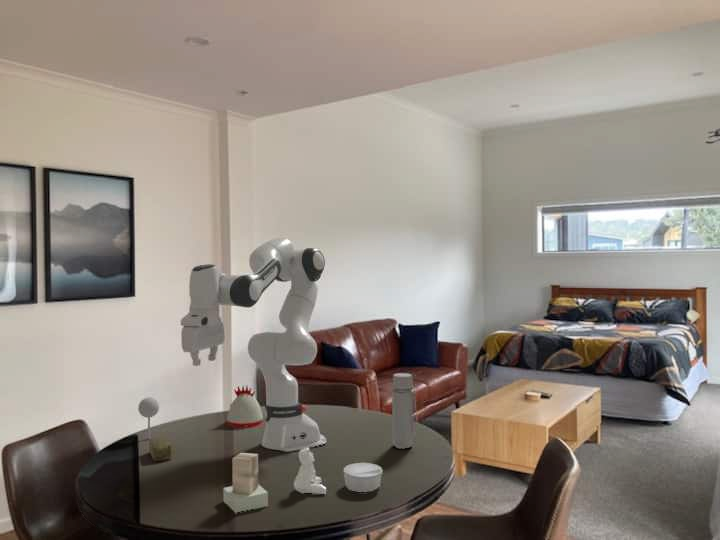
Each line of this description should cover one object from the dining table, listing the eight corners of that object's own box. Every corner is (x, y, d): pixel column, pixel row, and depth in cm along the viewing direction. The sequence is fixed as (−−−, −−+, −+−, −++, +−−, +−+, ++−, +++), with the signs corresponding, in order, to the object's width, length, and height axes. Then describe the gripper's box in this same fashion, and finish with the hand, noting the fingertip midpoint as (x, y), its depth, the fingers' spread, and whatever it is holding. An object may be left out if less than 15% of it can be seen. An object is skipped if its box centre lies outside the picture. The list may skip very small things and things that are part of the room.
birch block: (241, 486, 161) (241, 452, 161) (258, 487, 160) (258, 454, 160) (232, 492, 157) (232, 458, 157) (250, 494, 155) (249, 459, 155)
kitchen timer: (229, 418, 243) (229, 382, 243) (263, 417, 245) (263, 381, 245) (225, 428, 230) (225, 389, 229) (261, 427, 231) (261, 388, 231)
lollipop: (163, 437, 218) (163, 396, 218) (150, 442, 211) (150, 400, 211) (147, 435, 220) (147, 394, 220) (134, 440, 213) (133, 398, 213)
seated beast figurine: (327, 495, 164) (327, 451, 164) (296, 498, 162) (296, 454, 162) (320, 482, 173) (320, 441, 173) (290, 486, 171) (290, 444, 171)
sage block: (255, 495, 165) (255, 481, 165) (267, 507, 157) (267, 492, 157) (223, 502, 160) (223, 487, 160) (234, 515, 152) (234, 499, 152)
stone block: (153, 463, 190) (153, 447, 190) (149, 453, 201) (148, 438, 201) (172, 460, 193) (172, 445, 193) (167, 450, 203) (166, 436, 203)
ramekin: (369, 498, 162) (369, 479, 162) (335, 490, 168) (335, 471, 168) (389, 485, 172) (389, 467, 172) (356, 477, 178) (356, 460, 178)
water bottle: (388, 449, 204) (388, 376, 204) (395, 442, 211) (396, 372, 211) (414, 452, 201) (414, 378, 200) (421, 445, 208) (421, 374, 207)
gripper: (211, 314, 193) (211, 357, 194) (177, 320, 174) (177, 368, 174) (229, 314, 192) (229, 357, 192) (196, 321, 172) (197, 369, 172)
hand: (204, 362), depth 183 cm, fingers open, 8 cm apart
